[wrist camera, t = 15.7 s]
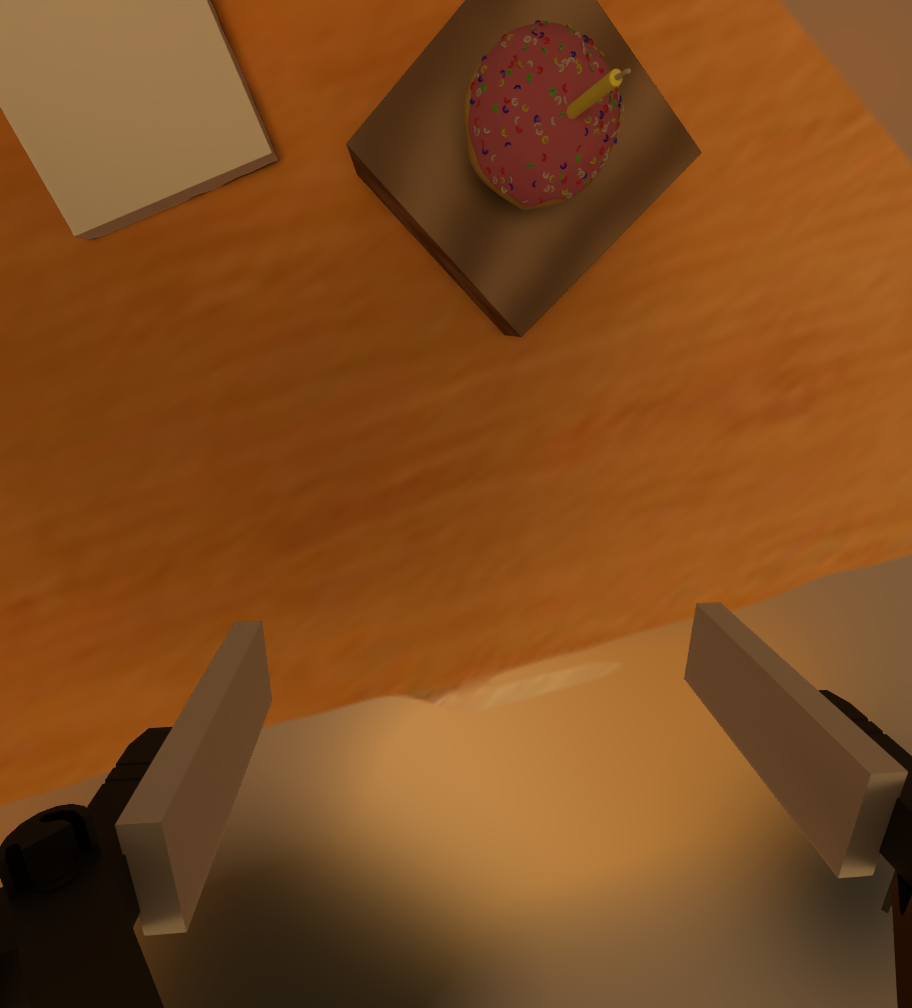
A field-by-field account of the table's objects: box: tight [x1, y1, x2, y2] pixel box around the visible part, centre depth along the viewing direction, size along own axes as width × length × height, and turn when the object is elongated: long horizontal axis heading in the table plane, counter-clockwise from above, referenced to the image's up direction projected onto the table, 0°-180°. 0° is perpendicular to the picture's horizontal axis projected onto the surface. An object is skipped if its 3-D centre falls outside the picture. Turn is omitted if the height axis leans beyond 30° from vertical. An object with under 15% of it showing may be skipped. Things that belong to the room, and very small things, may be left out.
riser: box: [346, 0, 702, 337], centre depth 37 cm, size 16×16×7 cm
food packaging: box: [0, 0, 278, 239], centre depth 35 cm, size 15×3×20 cm
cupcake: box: [464, 20, 631, 210], centre depth 28 cm, size 9×8×12 cm
